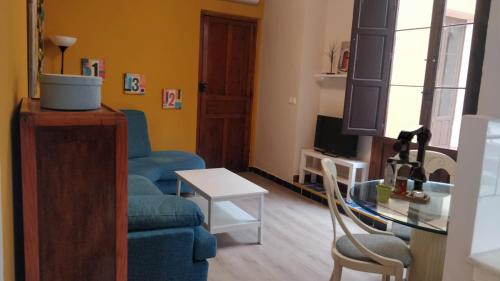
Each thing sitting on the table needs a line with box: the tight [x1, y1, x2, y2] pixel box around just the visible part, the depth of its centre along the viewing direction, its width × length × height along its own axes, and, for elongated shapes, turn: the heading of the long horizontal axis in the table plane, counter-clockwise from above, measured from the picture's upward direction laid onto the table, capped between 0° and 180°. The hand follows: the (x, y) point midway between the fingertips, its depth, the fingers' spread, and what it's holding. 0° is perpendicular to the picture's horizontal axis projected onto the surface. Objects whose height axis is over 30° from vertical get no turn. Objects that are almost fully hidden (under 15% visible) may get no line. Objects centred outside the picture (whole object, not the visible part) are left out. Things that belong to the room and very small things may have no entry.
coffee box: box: [383, 159, 398, 186], centre depth 280 cm, size 9×6×16 cm
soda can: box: [393, 175, 409, 196], centre depth 248 cm, size 7×7×12 cm
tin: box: [412, 190, 425, 199], centre depth 242 cm, size 6×6×5 cm
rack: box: [390, 188, 431, 205], centre depth 245 cm, size 12×22×2 cm, turn 56°
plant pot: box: [375, 184, 394, 203], centre depth 235 cm, size 9×9×9 cm
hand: (401, 176), depth 247 cm, fingers open, 9 cm apart
